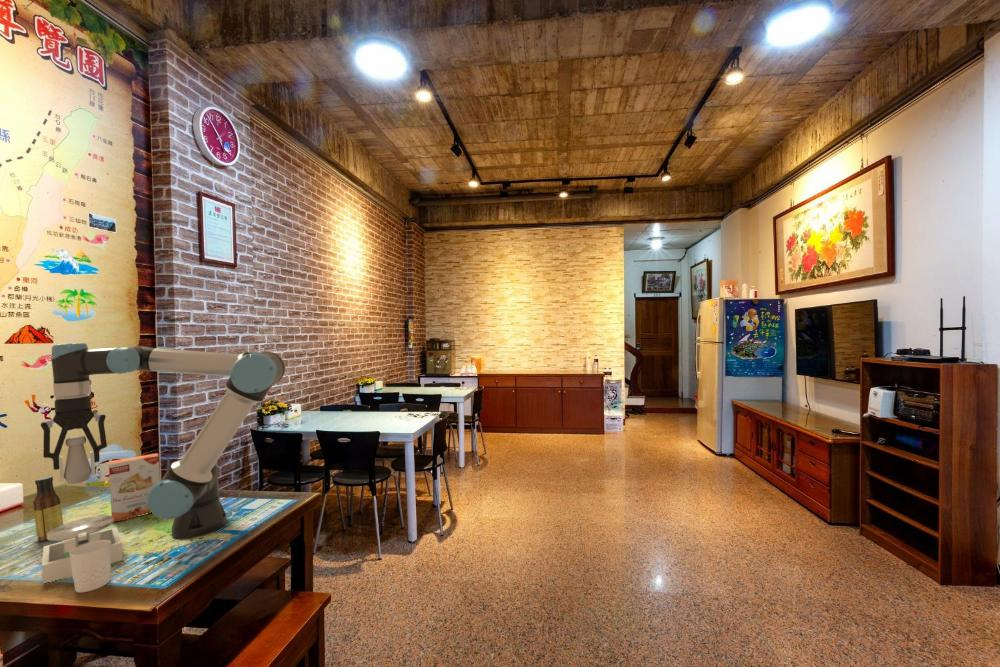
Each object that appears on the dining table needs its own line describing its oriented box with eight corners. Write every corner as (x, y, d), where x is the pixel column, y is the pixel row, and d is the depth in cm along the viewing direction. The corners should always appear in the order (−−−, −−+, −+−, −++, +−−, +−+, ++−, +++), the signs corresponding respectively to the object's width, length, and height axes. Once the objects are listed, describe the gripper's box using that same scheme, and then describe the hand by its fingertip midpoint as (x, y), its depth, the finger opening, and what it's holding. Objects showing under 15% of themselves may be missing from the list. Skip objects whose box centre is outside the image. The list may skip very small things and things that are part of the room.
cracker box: (111, 524, 154) (107, 464, 154) (112, 518, 159) (108, 460, 158) (162, 511, 163) (158, 455, 163) (161, 507, 168) (158, 452, 167)
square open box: (123, 560, 127) (120, 526, 127) (43, 585, 116) (40, 548, 116) (117, 542, 139) (115, 511, 139) (44, 563, 128) (42, 529, 128)
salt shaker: (74, 485, 124) (71, 439, 124) (58, 484, 125) (55, 439, 125) (97, 478, 130) (94, 434, 130) (82, 477, 131) (79, 434, 131)
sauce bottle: (68, 531, 150) (64, 473, 149) (57, 539, 144) (53, 478, 143) (42, 535, 147) (38, 476, 147) (31, 544, 141) (26, 482, 141)
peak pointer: (88, 542, 121) (87, 540, 121) (78, 545, 120) (77, 542, 120) (87, 539, 122) (87, 537, 122) (77, 542, 121) (77, 540, 121)
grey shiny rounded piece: (118, 548, 125) (116, 527, 125) (47, 569, 115) (45, 546, 115) (112, 530, 138) (111, 511, 138) (48, 548, 128) (47, 527, 128)
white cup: (68, 588, 114) (65, 550, 114) (107, 573, 121) (105, 537, 120) (77, 597, 110) (74, 557, 109) (117, 581, 116) (115, 543, 116)
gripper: (114, 391, 136) (119, 466, 137) (25, 400, 123) (31, 483, 124) (116, 393, 131) (122, 470, 131) (23, 403, 118) (29, 489, 118)
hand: (78, 476), depth 128 cm, fingers closed on salt shaker, 6 cm apart
